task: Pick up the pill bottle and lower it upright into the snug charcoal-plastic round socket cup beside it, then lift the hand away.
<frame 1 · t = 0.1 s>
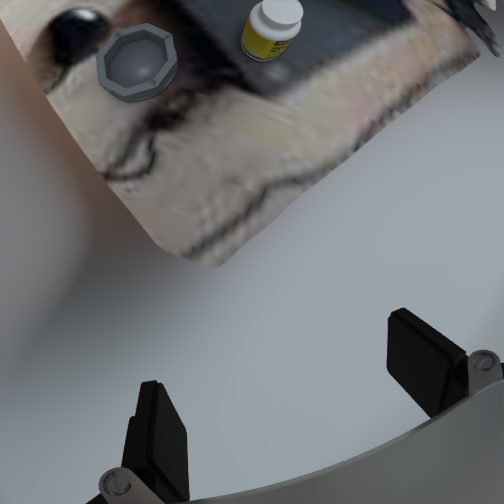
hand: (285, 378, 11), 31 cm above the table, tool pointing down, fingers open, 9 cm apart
socket cup: (139, 67, 33), on the table
pill bottle: (261, 44, 35), on the table
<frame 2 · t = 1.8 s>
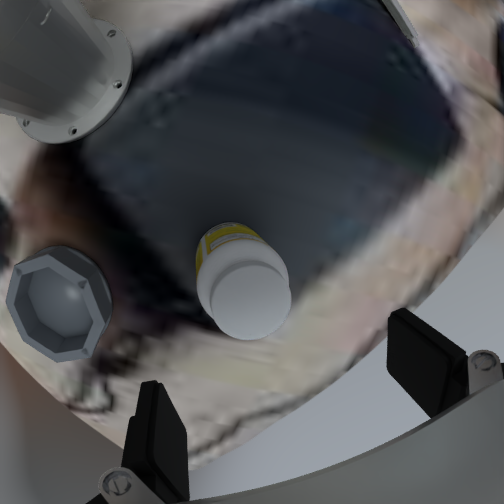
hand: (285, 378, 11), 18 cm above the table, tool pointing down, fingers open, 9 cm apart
socket cup: (65, 297, 26), on the table
pill bottle: (229, 254, 28), on the table
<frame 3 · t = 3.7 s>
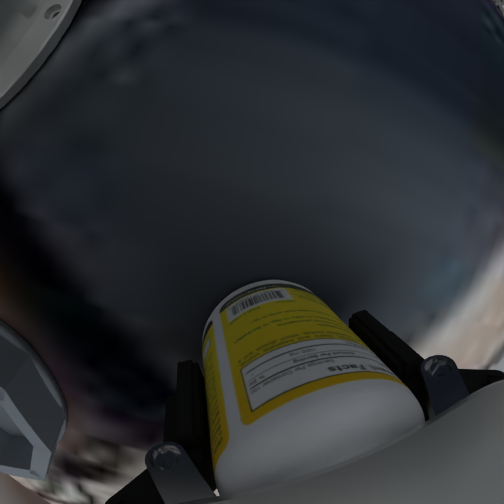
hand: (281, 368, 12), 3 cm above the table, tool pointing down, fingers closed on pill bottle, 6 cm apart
pill bottle: (266, 334, 14), on the table, touching gripper
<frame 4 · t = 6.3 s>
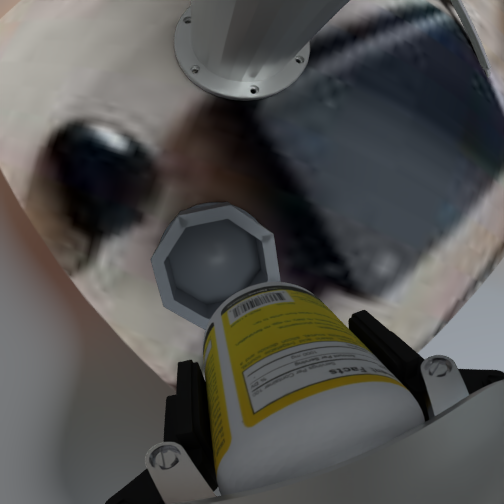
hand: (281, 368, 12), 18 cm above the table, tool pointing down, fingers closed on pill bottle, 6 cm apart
socket cup: (214, 258, 28), on the table
pill bottle: (267, 336, 14), point 15 cm above the table, touching gripper
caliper: (452, 18, 26), on the table
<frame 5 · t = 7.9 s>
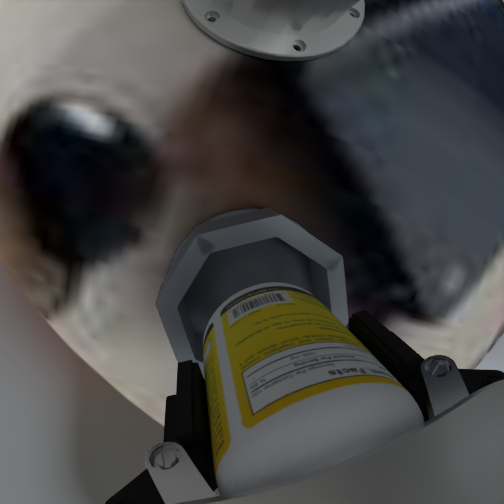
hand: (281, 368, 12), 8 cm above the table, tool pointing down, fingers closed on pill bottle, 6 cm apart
socket cup: (248, 290, 19), on the table
pill bottle: (266, 336, 14), point 5 cm above the table, touching gripper
when the fingers open (4 cm above the table, at t = 9.1 s): pill bottle drops 1 cm, resting on socket cup.
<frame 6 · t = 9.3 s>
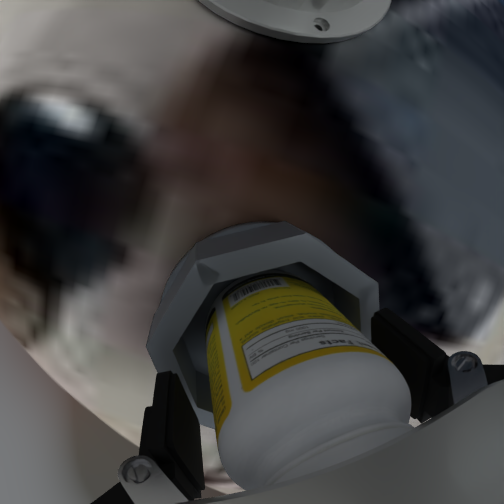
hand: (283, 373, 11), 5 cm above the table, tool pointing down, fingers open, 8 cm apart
socket cup: (259, 319, 16), on the table
pill bottle: (265, 322, 15), point 1 cm above the table, touching socket cup
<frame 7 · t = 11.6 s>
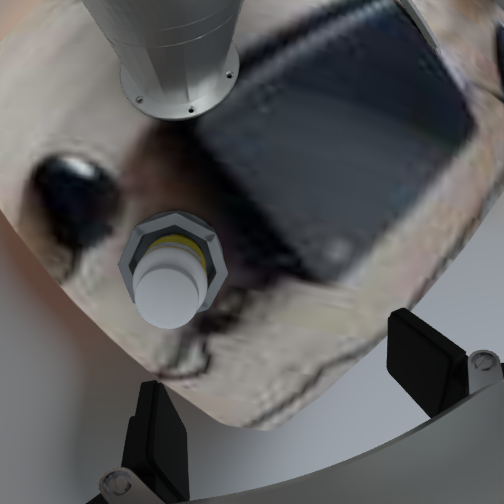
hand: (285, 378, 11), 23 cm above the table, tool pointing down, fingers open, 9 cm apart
socket cup: (174, 259, 32), on the table
pill bottle: (176, 259, 31), point 1 cm above the table, touching socket cup
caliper: (394, 3, 29), on the table
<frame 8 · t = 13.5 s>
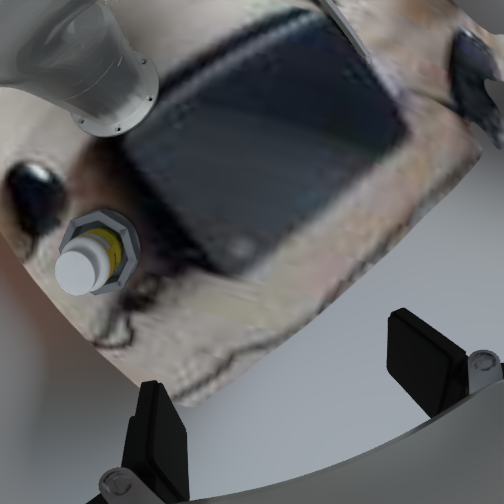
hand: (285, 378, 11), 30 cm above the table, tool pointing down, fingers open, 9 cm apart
socket cup: (104, 247, 37), on the table
pill bottle: (104, 247, 37), point 1 cm above the table, touching socket cup
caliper: (325, 15, 35), on the table
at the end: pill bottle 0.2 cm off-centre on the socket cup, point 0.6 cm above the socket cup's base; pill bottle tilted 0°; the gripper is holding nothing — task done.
